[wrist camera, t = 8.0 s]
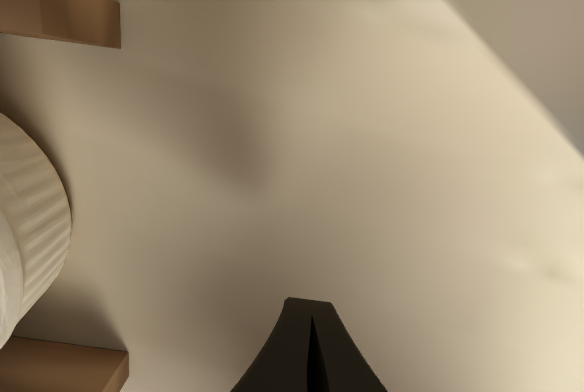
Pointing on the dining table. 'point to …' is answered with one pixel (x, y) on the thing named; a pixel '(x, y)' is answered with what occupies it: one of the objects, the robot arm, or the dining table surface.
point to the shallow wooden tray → (35, 353)
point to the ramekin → (28, 225)
